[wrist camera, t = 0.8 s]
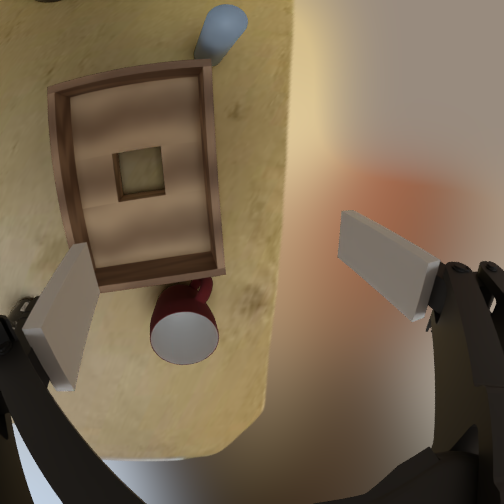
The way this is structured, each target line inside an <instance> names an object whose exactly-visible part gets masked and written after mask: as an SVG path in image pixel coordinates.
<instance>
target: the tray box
mask: <svg viewBox="0 0 504 504" xmlns="http://www.w3.org/2000/svg"><path fill="white" fill-rule="evenodd" d="M47 96H48V121H49V135H50V145H51V155H52V163H53V170H54V177H55V184H56V190H57V195H58V201H59V206H60V211H61V216H62V221H63V225H64V230H65V234H66V238H67V242H68V246H69V250H70V248H71V247H72V245H73V244H79V243H85V242H87V245H88V249H89V253H90V257H91V261H92V265H93V269H94V273H95V276H96V280H97V283H98V287H99V290H100V293H106V292H113V291H120V290H127V289H134V288H141V287H148V286H154V285H161V284H168V283H175V282H181V281H188V280H194V279H201V278H207V277H213V276H220V275H226V270H225V260H224V248H223V237H222V224H221V212H220V199H219V185H218V171H217V156H216V140H215V123H214V105H213V84H212V61H211V59H195V60H181V61H171V62H161V63H153V64H146V65H139V66H133V67H127V68H121V69H116V70H111V71H106V72H101V73H97V74H92V75H88V76H84V77H80V78H76V79H73V80H69V81H65V82H62V83H59V84H55V85H52V86H49V87H47ZM158 146H161V154H162V164H163V174H164V183H165V189H161V190H154V191H147V192H141V193H134V194H128V195H123V188H122V181H121V173H120V165H119V156H118V153H120V152H126V151H132V150H138V149H144V148H151V147H158Z"/></svg>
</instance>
